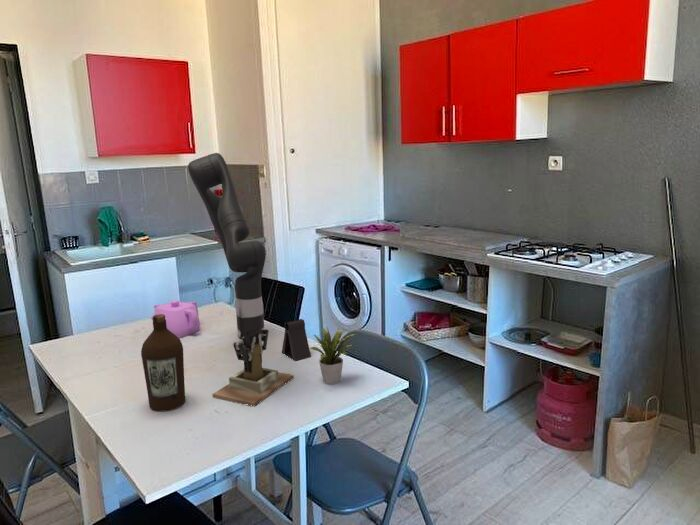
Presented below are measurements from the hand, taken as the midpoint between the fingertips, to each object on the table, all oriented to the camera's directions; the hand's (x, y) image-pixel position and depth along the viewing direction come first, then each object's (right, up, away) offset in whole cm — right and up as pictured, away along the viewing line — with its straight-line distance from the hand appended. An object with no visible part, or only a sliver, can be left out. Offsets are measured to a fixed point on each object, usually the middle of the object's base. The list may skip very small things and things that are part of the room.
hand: (253, 369), depth 154 cm
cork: (0, -3, +1) cm, 3 cm away
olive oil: (-22, -8, -8) cm, 25 cm away
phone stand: (+10, 0, +25) cm, 27 cm away
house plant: (+23, -5, +3) cm, 23 cm away
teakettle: (-39, +4, +50) cm, 64 cm away
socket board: (0, -5, +1) cm, 6 cm away
